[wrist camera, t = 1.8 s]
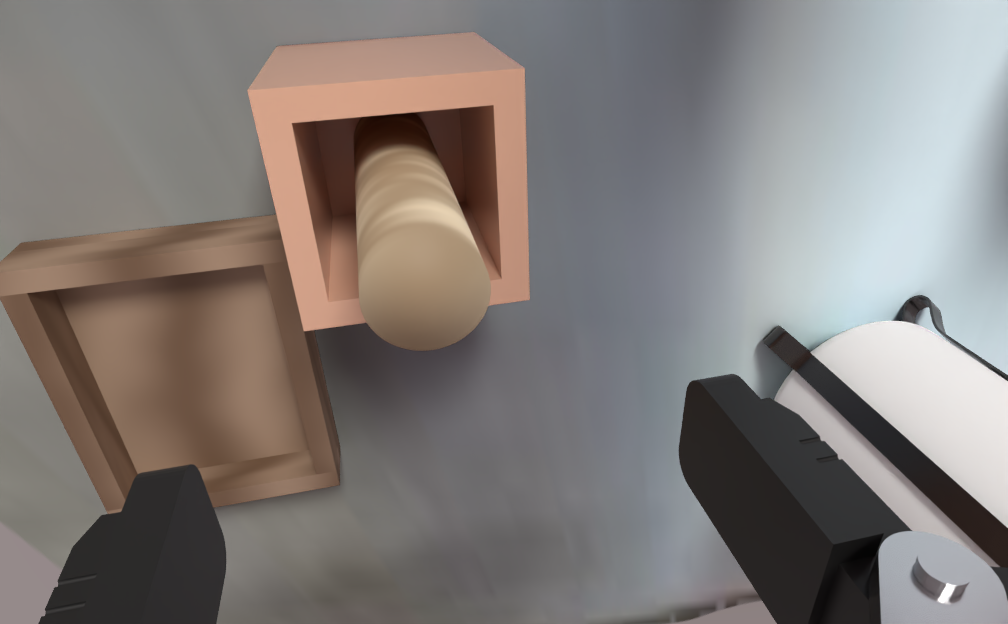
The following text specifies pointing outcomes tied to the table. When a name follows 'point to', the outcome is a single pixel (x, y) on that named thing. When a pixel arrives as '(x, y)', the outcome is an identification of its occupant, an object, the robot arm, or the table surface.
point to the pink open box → (330, 153)
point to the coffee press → (911, 423)
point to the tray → (177, 357)
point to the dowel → (413, 239)
